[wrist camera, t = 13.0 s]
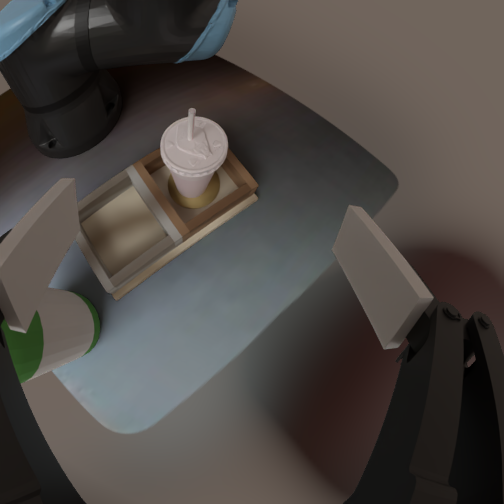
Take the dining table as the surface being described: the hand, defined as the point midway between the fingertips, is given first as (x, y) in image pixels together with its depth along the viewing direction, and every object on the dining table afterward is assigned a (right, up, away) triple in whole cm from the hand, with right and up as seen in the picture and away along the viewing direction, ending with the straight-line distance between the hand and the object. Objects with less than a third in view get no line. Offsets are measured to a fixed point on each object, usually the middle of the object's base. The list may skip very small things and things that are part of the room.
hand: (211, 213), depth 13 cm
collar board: (-9, +3, +21) cm, 23 cm away
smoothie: (-5, +6, +21) cm, 23 cm away
